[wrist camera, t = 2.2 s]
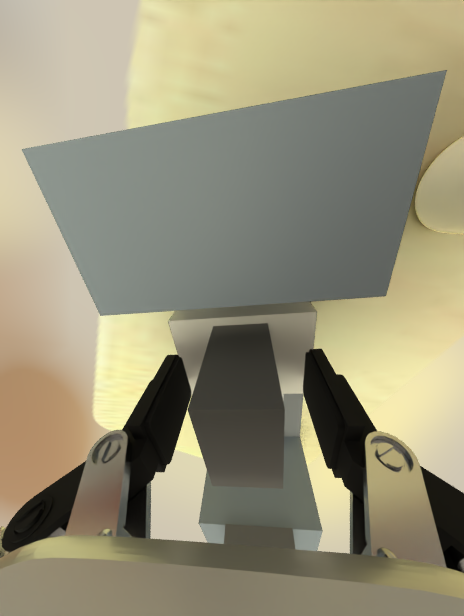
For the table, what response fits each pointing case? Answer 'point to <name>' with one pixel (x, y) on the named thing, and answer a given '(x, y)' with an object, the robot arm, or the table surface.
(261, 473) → the carriage
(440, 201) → the drinking glass
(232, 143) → the rail track
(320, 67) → the table surface
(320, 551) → the robot arm
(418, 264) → the table surface
